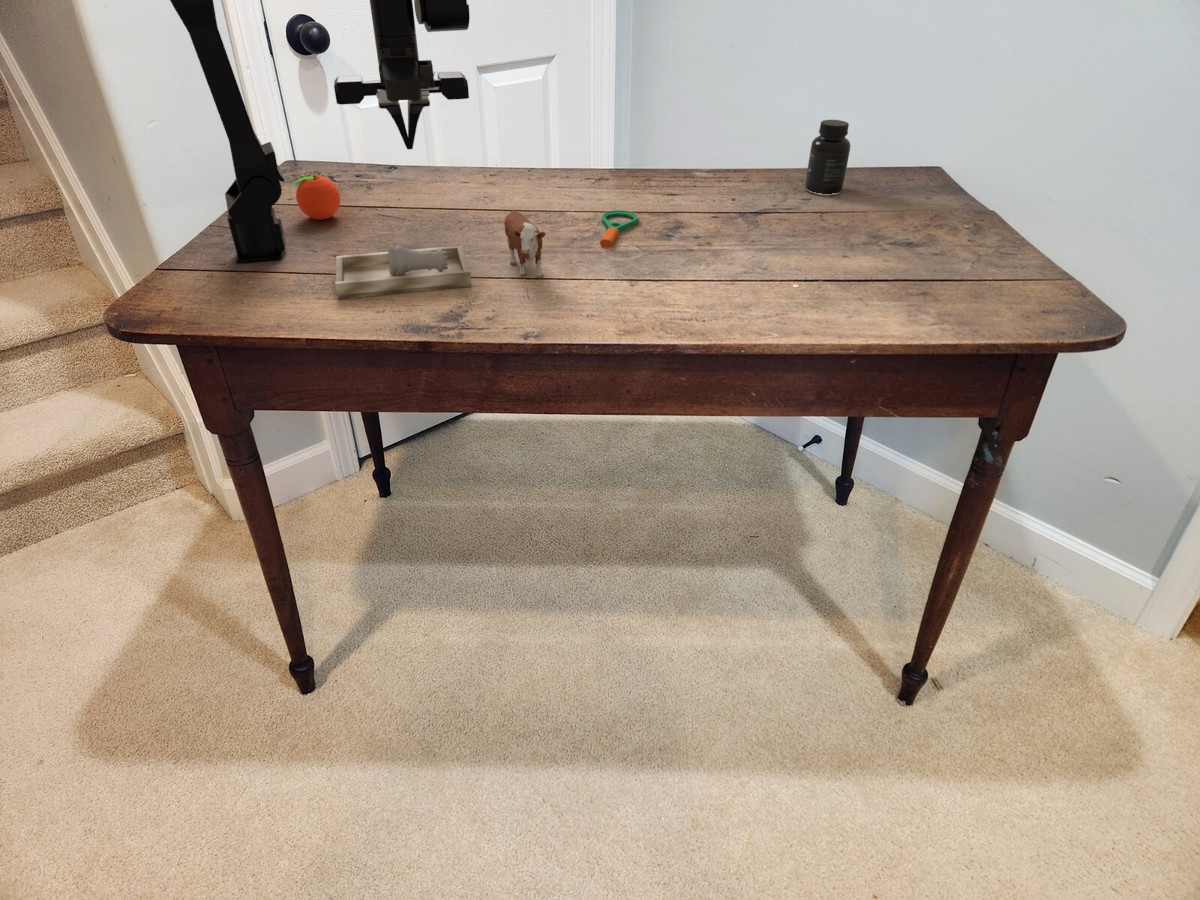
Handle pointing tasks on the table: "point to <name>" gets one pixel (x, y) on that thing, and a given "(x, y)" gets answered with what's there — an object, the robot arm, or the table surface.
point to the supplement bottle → (828, 158)
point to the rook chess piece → (415, 260)
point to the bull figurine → (523, 241)
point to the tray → (374, 278)
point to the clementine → (317, 197)
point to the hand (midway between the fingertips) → (409, 148)
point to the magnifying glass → (616, 225)
